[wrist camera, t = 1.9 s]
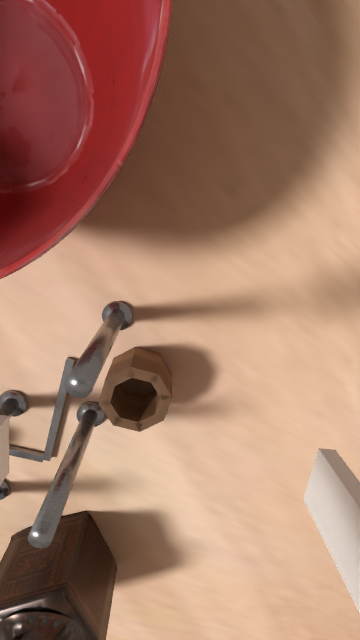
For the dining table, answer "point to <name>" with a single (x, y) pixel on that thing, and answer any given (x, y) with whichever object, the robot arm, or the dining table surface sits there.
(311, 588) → the dining table surface
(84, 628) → the brown coffee grinder
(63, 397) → the wire course
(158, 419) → the napkin ring
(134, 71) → the mixing bowl
